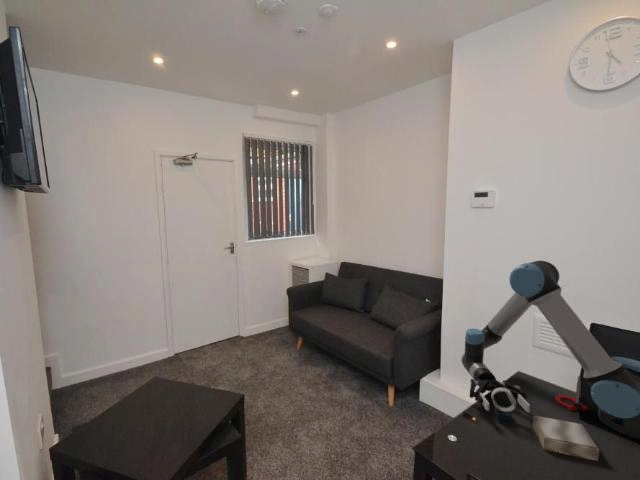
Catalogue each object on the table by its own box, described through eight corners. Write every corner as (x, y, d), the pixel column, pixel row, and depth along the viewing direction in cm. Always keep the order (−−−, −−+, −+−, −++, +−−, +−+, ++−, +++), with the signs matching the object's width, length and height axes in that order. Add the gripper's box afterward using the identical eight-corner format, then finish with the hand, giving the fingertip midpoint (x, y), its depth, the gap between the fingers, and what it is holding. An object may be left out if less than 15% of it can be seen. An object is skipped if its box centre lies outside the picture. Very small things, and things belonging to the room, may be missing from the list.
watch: (517, 425, 112) (519, 395, 111) (491, 420, 115) (493, 391, 114) (513, 415, 118) (515, 387, 116) (489, 411, 120) (490, 383, 119)
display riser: (581, 434, 108) (582, 423, 107) (598, 461, 96) (599, 448, 96) (532, 425, 112) (533, 414, 112) (543, 449, 101) (544, 437, 101)
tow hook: (549, 398, 129) (568, 411, 120) (551, 366, 128) (569, 377, 119) (570, 397, 129) (590, 411, 120) (571, 366, 129) (591, 377, 119)
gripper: (513, 386, 133) (545, 419, 112) (451, 383, 135) (470, 416, 114) (514, 368, 132) (546, 399, 111) (452, 366, 134) (471, 396, 113)
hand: (508, 408), depth 112 cm, fingers open, 13 cm apart
